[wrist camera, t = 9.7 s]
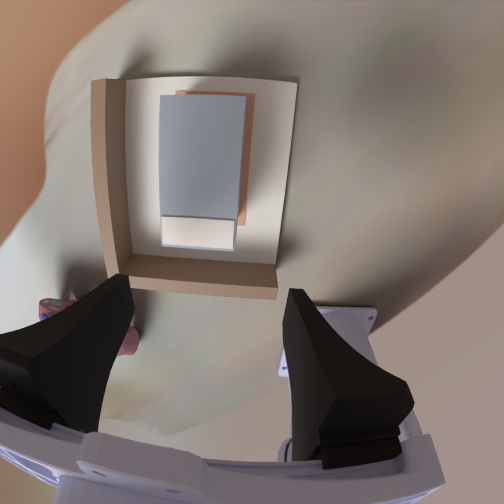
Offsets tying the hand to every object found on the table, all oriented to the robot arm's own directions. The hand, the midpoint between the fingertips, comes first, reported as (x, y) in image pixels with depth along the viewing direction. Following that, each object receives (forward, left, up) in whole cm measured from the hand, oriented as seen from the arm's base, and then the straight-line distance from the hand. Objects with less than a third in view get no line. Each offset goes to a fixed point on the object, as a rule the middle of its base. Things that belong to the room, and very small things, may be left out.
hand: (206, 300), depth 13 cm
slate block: (+5, +1, -9) cm, 10 cm away
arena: (+3, +2, -9) cm, 10 cm away
